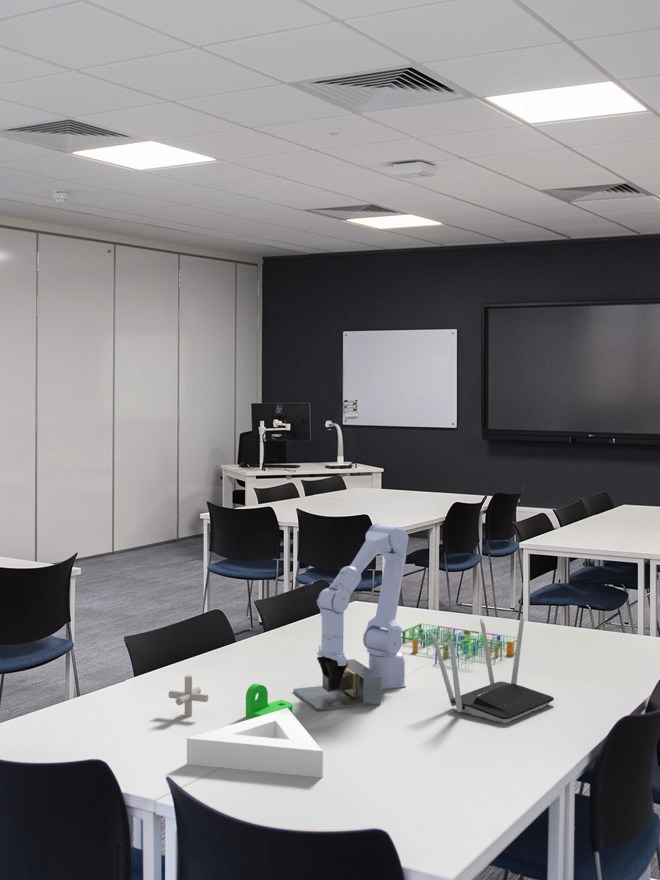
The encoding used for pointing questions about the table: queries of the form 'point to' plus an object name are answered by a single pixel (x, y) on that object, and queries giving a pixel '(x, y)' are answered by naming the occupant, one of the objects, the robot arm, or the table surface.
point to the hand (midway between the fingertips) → (332, 686)
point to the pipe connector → (188, 696)
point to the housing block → (335, 700)
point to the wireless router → (493, 688)
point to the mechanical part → (262, 702)
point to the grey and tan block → (342, 682)
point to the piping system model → (465, 638)
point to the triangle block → (259, 746)
